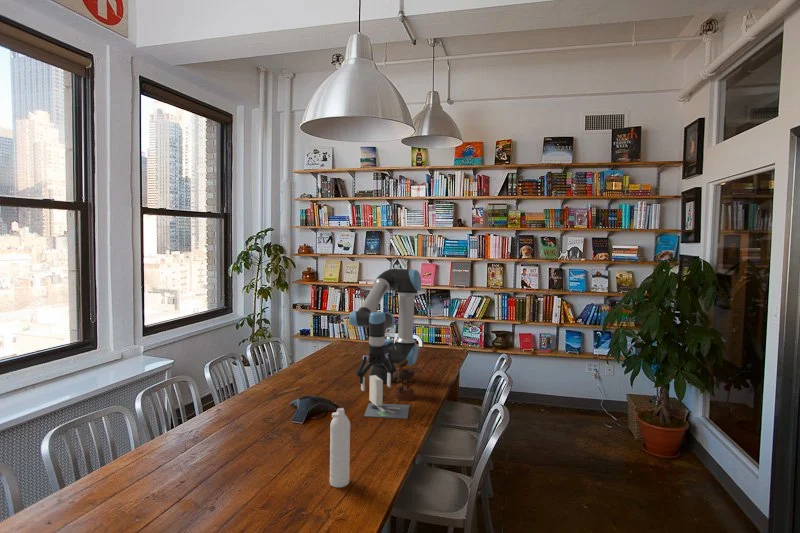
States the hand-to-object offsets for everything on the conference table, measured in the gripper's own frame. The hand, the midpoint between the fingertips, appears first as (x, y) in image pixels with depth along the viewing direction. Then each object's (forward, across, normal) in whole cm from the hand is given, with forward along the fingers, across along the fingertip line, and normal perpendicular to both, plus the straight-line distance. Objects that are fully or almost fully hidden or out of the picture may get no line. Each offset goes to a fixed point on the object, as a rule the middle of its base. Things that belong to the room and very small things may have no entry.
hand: (375, 388), depth 214 cm
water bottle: (+10, +38, +57) cm, 69 cm away
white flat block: (+9, 0, +3) cm, 9 cm away
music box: (+10, -20, -9) cm, 24 cm away
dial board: (+10, -4, +6) cm, 12 cm away
